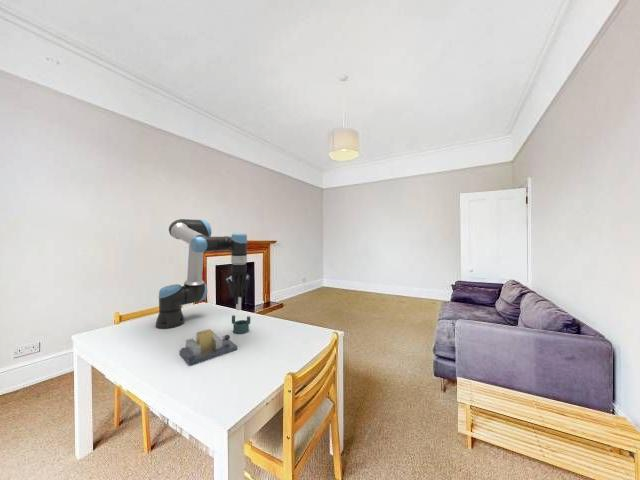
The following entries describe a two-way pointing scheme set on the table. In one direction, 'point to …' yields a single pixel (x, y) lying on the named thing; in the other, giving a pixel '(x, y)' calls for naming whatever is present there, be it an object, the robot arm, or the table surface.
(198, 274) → the robot arm
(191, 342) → the vise
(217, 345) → the free jaw
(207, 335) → the brass block
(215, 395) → the table surface
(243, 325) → the bracket
